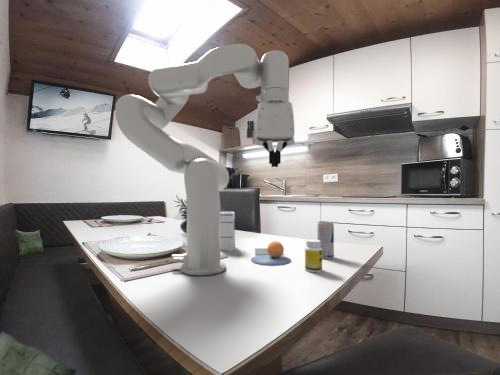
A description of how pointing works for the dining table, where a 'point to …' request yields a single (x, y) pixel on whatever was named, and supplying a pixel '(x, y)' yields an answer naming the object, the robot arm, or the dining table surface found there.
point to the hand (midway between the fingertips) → (274, 166)
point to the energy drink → (326, 239)
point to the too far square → (261, 251)
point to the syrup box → (227, 230)
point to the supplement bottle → (313, 256)
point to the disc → (270, 260)
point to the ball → (275, 249)
